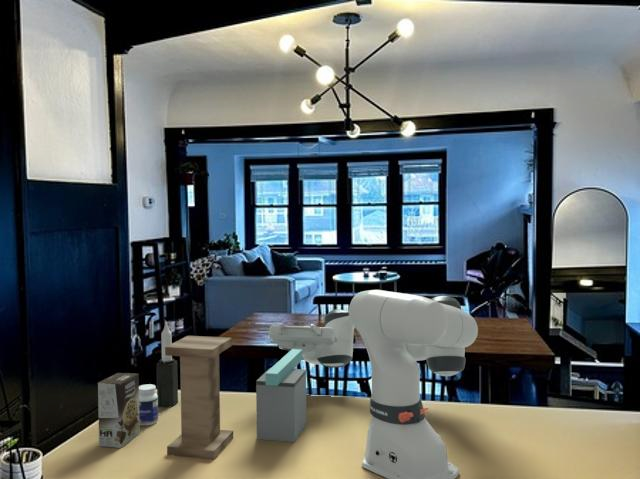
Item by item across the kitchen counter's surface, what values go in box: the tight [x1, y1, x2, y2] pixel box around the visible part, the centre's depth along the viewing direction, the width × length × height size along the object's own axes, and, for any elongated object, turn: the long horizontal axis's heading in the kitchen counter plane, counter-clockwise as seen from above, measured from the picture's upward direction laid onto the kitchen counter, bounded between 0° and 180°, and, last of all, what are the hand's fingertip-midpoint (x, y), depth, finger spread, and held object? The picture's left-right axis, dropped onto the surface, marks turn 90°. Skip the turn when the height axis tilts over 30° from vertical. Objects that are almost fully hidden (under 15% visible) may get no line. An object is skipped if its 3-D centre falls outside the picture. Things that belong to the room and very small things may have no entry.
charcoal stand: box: [255, 367, 307, 443], centre depth 143 cm, size 12×10×15 cm
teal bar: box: [264, 349, 303, 386], centre depth 146 cm, size 24×3×3 cm, turn 167°
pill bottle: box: [139, 383, 159, 427], centre depth 150 cm, size 6×6×10 cm
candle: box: [156, 321, 179, 408], centre depth 164 cm, size 5×5×25 cm
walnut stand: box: [165, 335, 234, 460], centre depth 134 cm, size 12×12×26 cm
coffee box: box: [97, 372, 141, 449], centre depth 138 cm, size 9×6×16 cm
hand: (296, 326), depth 161 cm, fingers open, 8 cm apart
